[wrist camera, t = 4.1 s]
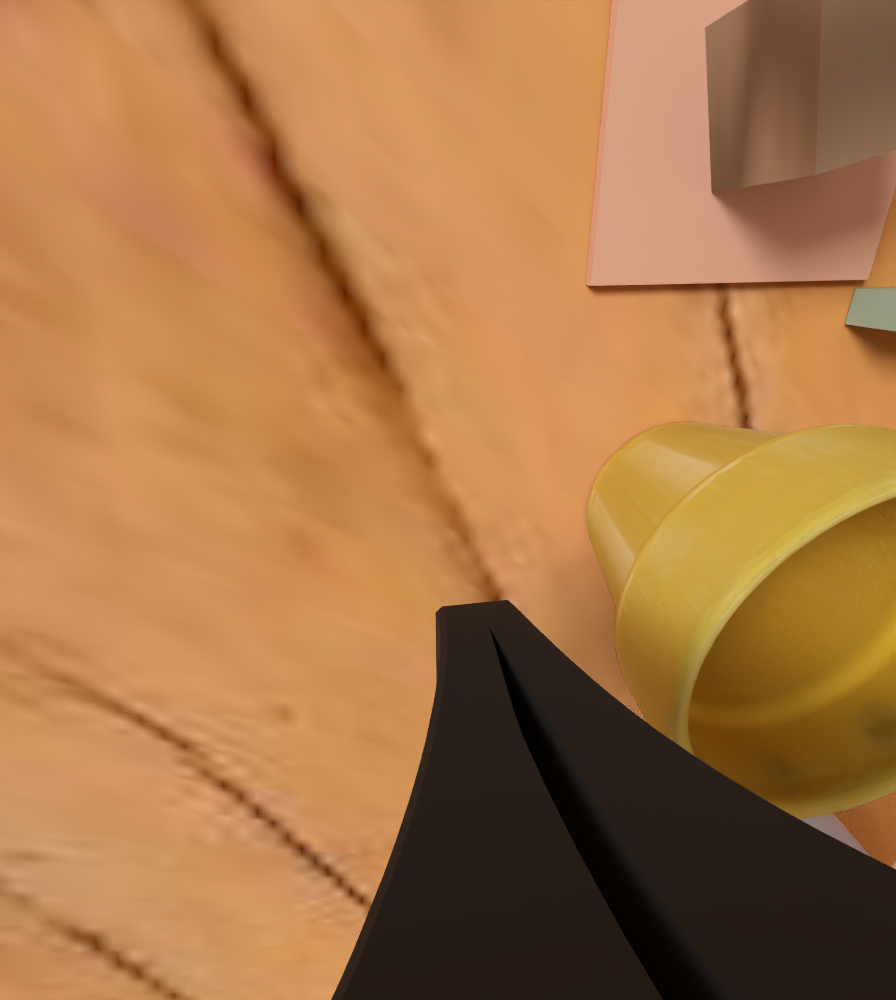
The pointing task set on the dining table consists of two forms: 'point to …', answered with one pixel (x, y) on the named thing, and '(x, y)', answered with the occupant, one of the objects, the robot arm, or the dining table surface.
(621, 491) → the plant pot
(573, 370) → the dining table surface
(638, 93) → the terracotta mat
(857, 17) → the walnut block
